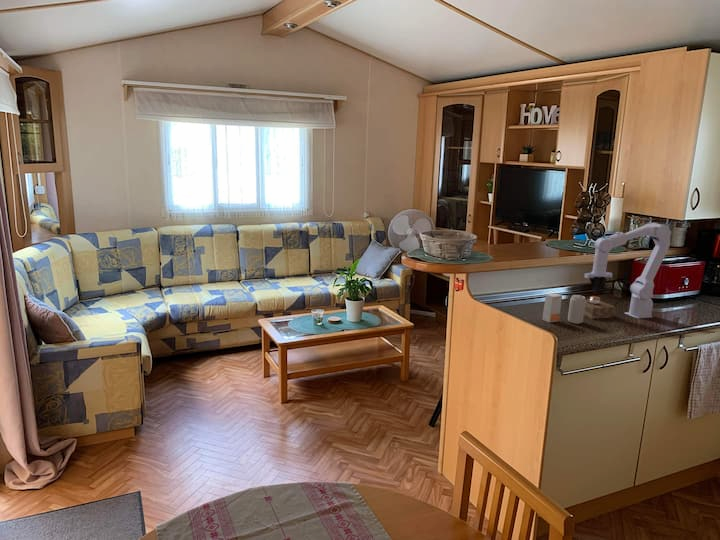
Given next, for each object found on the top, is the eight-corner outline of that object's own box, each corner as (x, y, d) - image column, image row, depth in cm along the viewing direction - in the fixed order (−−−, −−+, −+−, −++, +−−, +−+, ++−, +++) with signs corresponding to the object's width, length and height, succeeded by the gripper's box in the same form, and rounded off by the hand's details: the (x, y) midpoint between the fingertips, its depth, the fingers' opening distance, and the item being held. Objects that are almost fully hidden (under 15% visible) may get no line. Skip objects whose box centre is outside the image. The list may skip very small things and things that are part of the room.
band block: (593, 308, 269) (595, 299, 268) (613, 317, 257) (615, 306, 256) (571, 310, 264) (573, 300, 263) (591, 318, 253) (593, 308, 251)
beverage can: (583, 325, 243) (587, 299, 240) (568, 323, 244) (572, 297, 241) (581, 320, 249) (584, 295, 246) (566, 319, 250) (569, 293, 247)
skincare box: (549, 323, 243) (552, 296, 241) (541, 320, 247) (545, 294, 244) (559, 321, 246) (562, 295, 243) (551, 318, 250) (555, 293, 247)
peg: (594, 303, 262) (595, 295, 262) (600, 306, 258) (602, 298, 258) (586, 304, 261) (587, 296, 260) (593, 306, 257) (594, 298, 256)
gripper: (606, 261, 261) (601, 289, 264) (581, 262, 256) (577, 290, 259) (617, 265, 255) (612, 293, 258) (592, 266, 250) (588, 294, 253)
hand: (595, 292), depth 258 cm, fingers closed
